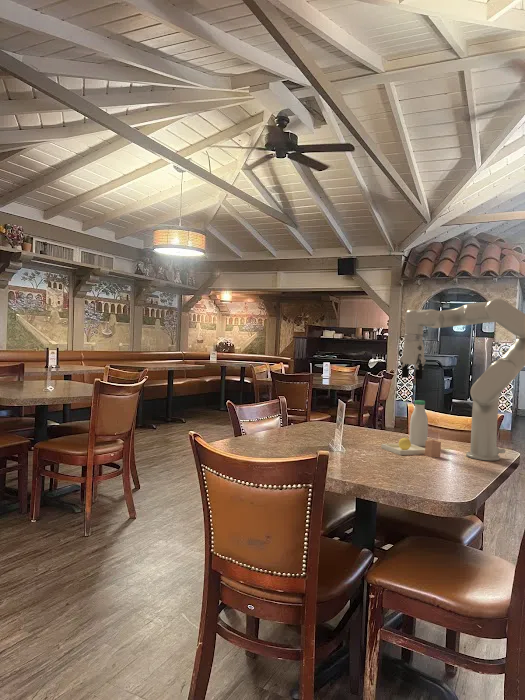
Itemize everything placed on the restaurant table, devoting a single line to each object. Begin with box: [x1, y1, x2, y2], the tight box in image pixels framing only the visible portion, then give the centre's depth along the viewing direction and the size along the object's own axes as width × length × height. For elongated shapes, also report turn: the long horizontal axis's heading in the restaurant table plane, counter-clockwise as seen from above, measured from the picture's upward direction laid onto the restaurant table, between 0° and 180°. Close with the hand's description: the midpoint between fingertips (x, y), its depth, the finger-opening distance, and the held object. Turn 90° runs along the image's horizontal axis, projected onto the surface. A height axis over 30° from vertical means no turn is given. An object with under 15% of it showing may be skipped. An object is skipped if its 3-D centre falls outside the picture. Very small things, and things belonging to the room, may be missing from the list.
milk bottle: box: [408, 399, 429, 447], centre depth 230 cm, size 8×8×20 cm
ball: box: [398, 437, 411, 450], centre depth 214 cm, size 5×5×5 cm
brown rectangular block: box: [424, 439, 442, 458], centre depth 206 cm, size 4×4×6 cm
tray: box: [380, 443, 425, 456], centre depth 214 cm, size 14×14×2 cm
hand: (411, 378), depth 222 cm, fingers open, 9 cm apart
